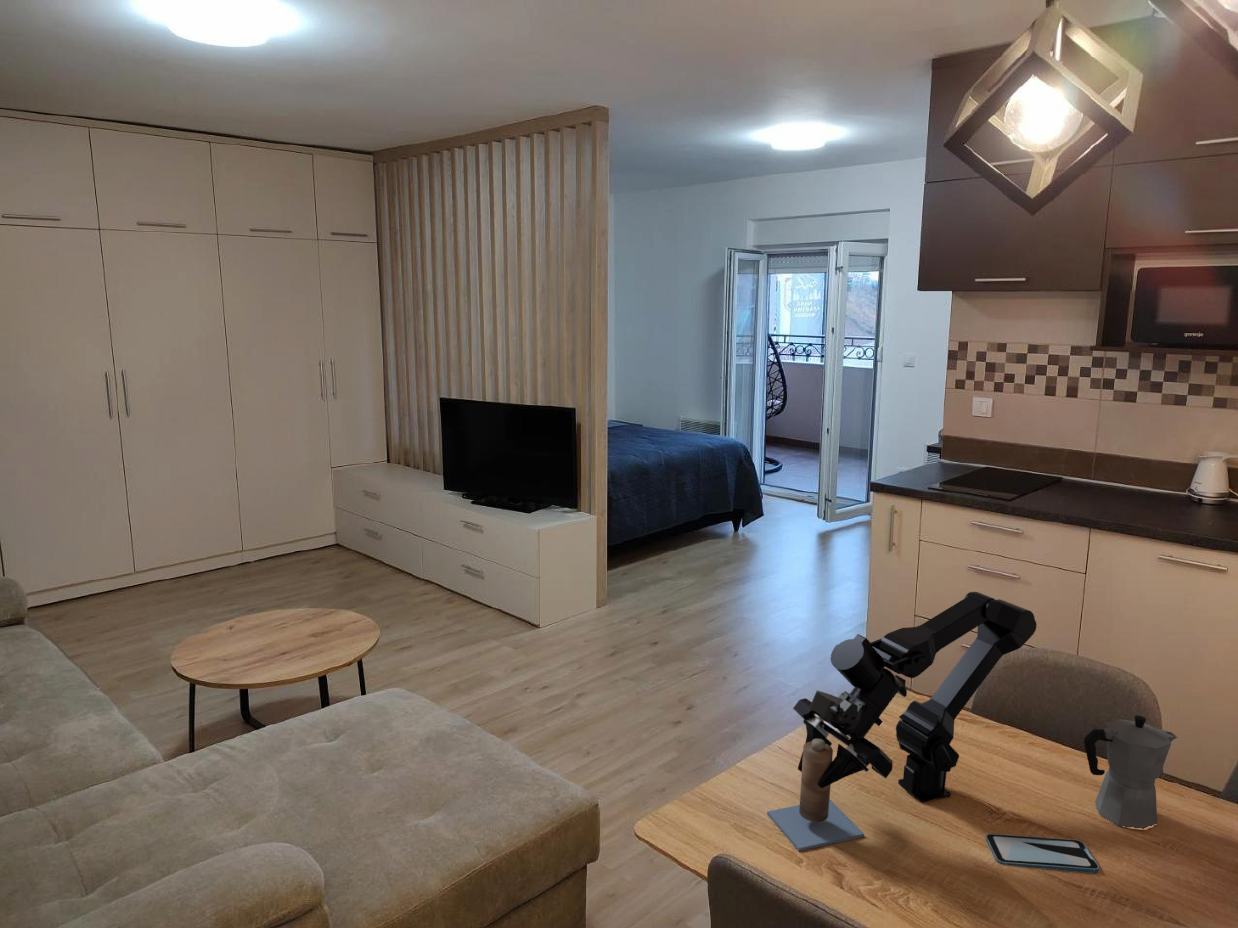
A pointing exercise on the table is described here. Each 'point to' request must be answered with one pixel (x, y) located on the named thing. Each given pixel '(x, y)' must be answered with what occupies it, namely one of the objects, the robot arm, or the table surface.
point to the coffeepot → (1129, 770)
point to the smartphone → (1042, 853)
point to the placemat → (814, 827)
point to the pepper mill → (815, 781)
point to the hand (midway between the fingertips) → (809, 778)
